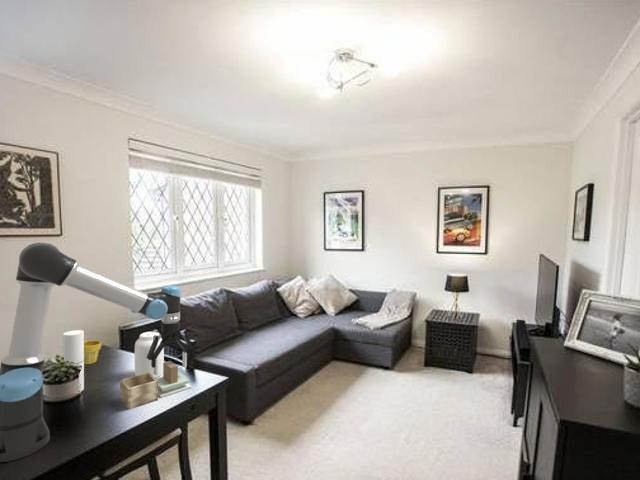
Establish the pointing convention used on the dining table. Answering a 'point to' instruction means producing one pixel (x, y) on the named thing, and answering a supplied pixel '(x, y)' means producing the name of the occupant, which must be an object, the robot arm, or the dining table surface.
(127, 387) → the storage box
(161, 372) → the white jar
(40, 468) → the dining table surface
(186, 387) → the felt mat
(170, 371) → the lid
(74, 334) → the cylindrical container
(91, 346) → the plant pot
